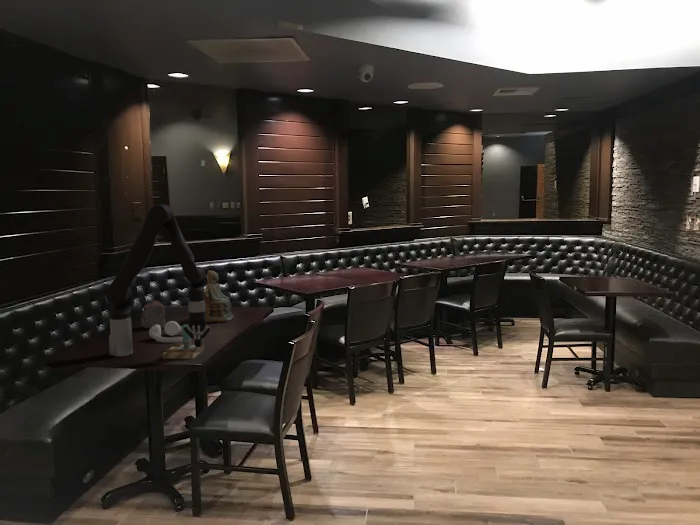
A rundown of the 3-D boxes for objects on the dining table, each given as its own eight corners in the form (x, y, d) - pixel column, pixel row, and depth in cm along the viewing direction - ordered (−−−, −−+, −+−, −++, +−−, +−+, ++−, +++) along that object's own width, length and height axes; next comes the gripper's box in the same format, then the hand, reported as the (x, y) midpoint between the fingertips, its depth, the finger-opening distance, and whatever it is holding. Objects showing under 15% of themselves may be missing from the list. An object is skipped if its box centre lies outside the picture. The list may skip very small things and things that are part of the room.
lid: (175, 351, 268) (175, 343, 268) (182, 346, 277) (181, 338, 276) (193, 351, 268) (193, 343, 267) (199, 346, 276) (199, 338, 276)
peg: (181, 348, 282) (180, 326, 281) (184, 346, 286) (183, 324, 285) (189, 348, 282) (188, 326, 281) (192, 346, 286) (191, 324, 285)
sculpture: (227, 324, 336) (225, 273, 333) (200, 324, 336) (198, 273, 333) (236, 316, 360) (235, 268, 357) (211, 316, 361) (209, 268, 357)
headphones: (144, 340, 300) (171, 348, 290) (144, 325, 299) (172, 333, 289) (173, 332, 317) (200, 340, 307) (174, 318, 316) (201, 325, 306)
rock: (173, 326, 333) (172, 300, 331) (158, 330, 322) (157, 303, 320) (154, 324, 339) (153, 298, 337) (139, 328, 328) (138, 302, 326)
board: (162, 358, 265) (162, 351, 265) (175, 349, 281) (175, 342, 281) (193, 358, 264) (192, 351, 264) (204, 349, 280) (203, 342, 280)
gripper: (180, 311, 267) (181, 348, 269) (208, 311, 266) (209, 349, 268) (185, 308, 274) (186, 344, 276) (213, 308, 273) (214, 345, 275)
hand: (198, 346), depth 272 cm, fingers closed
